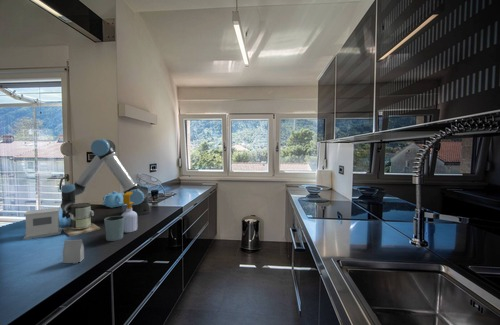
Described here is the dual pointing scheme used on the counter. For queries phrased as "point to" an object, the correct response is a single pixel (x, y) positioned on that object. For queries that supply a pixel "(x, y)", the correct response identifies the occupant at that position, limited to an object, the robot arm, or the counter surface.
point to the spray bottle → (129, 215)
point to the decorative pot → (113, 199)
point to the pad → (80, 230)
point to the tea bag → (73, 251)
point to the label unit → (42, 223)
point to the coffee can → (81, 215)
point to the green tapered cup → (114, 228)
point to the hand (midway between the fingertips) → (83, 215)
